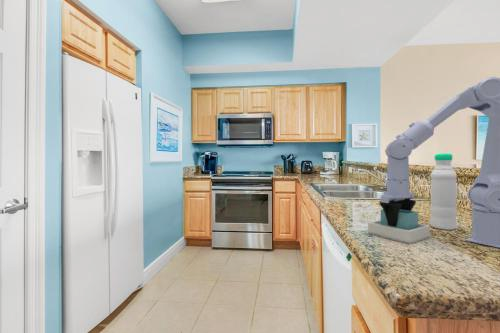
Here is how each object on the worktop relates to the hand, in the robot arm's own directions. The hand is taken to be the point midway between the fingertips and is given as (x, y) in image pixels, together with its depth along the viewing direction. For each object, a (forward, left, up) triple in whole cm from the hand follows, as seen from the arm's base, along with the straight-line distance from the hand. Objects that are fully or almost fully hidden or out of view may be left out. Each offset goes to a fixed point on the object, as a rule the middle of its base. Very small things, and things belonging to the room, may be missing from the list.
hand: (397, 224), depth 76 cm
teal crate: (0, 0, -2) cm, 2 cm away
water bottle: (-22, +3, -4) cm, 22 cm away
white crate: (0, 0, -3) cm, 3 cm away
